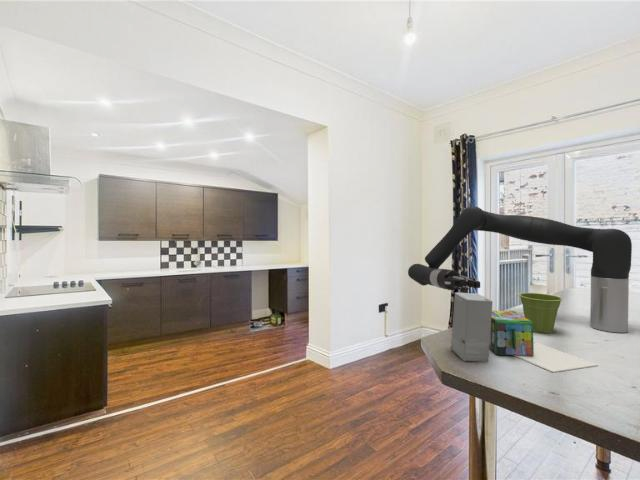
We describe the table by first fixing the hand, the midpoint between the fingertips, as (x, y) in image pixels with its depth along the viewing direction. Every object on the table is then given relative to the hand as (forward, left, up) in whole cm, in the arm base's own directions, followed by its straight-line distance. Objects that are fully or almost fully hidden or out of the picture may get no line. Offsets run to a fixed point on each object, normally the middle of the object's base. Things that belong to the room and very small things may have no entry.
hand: (478, 284), depth 103 cm
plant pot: (-9, +18, -15) cm, 25 cm away
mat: (+17, +16, -15) cm, 28 cm away
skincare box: (+26, 0, -15) cm, 30 cm away
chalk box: (+10, +6, -10) cm, 15 cm away
